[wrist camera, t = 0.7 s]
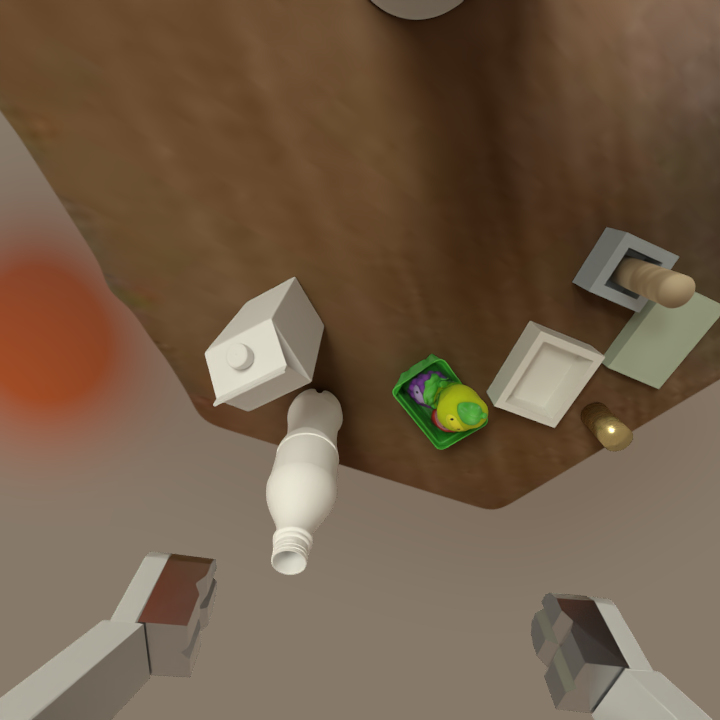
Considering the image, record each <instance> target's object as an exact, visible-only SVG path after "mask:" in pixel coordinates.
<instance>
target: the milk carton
mask: <svg viewBox="0 0 720 720" xmlns="http://www.w3.org/2000/svg"><path fill="white" fill-rule="evenodd" d="M323 329H324V324H323V323H322V321H321V319H320V318H319V316H318V314H317V313H316V311H315V309H314V308H313V306H312V304H311V302H310V301H309V299H308V297H307V296H306V294H305V292H304V291H303V289H302V287H301V286H300V284H299V282H298V281H297V279H296V277H293V278H291V279H289V280H287V281H285V282H284V283H282V284H280V285H278V286H276V287H274V288H272V289H270V290H269V291H267V292H265V293H263V294H261V295H259V296H257V297H255V298H254V299H252V300H250V301H248V302H247V303H246V304H245V305H244V306H243V307H242V308H241V310H240V311H239V312H238V313H237V314H236V316H235V317H234V318H233V319H232V320H231V322H230V323H229V324H228V325H227V326H226V328H225V329H224V330H223V331H222V333H221V334H220V335H219V336H218V337H217V339H216V340H215V341H214V342H213V343H212V345H211V346H210V347H209V348H208V350H207V351H206V352H205V356H206V360H207V364H208V368H209V372H210V375H211V379H212V383H213V387H214V390H215V394H216V398H217V399H216V401H215V402H214V404H213V405H214V406H217V405H219V404H221V403H223V402H224V403H227V404H230V405H232V406H235V407H238V408H240V409H243V410H245V411H251V410H253V409H255V408H257V407H259V406H262V405H264V404H266V403H268V402H270V401H272V400H274V399H277V398H279V397H281V396H283V395H285V394H287V393H289V392H291V391H294V390H296V389H298V388H300V387H302V386H304V385H306V384H308V383H310V382H312V377H313V373H314V369H315V364H316V360H317V356H318V351H319V347H320V342H321V338H322V334H323Z"/></svg>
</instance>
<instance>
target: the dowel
mask: <svg viewBox="0 0 720 720" xmlns="http://www.w3.org/2000/svg"><path fill="white" fill-rule="evenodd" d="M608 280H609V281H611V282H613V283H615V284H618V285H620V286H622V287H624V288H626V289H628V290H630V291H632V292H635V293H637V294H639V295H641V296H643V297H645V298H647V299H649V300H652V301H654V302H656V303H658V304H660V305H662V306H664V307H667V308H678V307H681V306H683V305H684V304H686V303H687V302H688V301H689V300H690V299H691V298H692V296H693V294H694V292H695V282H694V280H693V279H692V278H691V277H689V276H686V275H683V274H680V273H678V272H675V271H672V270H669V269H666V268H663V267H660V266H657V265H654V264H651V263H648V262H646V261H643V260H640V259H637V258H634V257H631V256H628V255H624V256H623V258H622V259H621V261H620V262H619V264H618V265H617V267H616V268H615V270H614V271H613V273H612V274H611V276H610V277H609V279H608Z"/></svg>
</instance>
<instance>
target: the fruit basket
mask: <svg viewBox="0 0 720 720" xmlns="http://www.w3.org/2000/svg"><path fill="white" fill-rule="evenodd" d="M392 393H393V396H394V397H395V398H396V399H397V401H398V402H399V403H400V404H401V405H402V407H403V408H404V409H405V410H406V411H407V413H408V414H409V415H410V416H411V418H412V419H413V420H414V421H415V422H416V424H417V425H418V426H419V427H420V429H421V430H422V431H423V432H424V433H425V435H426V436H427V437H428V438H429V440H430V441H431V442H432V443H433V444H434V446H435V447H436V448H437V449H446V448H448V447H449V446H451V445H453V444H454V443H456V442H458V441H459V440H461V439H463V438H464V437H466V436H468V435H470V434H471V433H473V432H475V431H477V430H479V429H480V428H482V427H484V426H485V425H486V424H487V423H488V418H487V417H488V407H487V405H486V403H485V402H484V401H483V400H482V399H480V397H479V396H478V394H477V393H476V392H475V391H474V390H473V389H471V388H470V387H468V386H465V385H463V384H462V383H461V382H460V380H459V379H458V377H457V376H456V375H455V373H454V372H453V371H452V369H451V368H450V366H449V365H448V364H447V362H446V361H445V360H442V359H439V358H438V357H436V356H435V355H433V354H431V355H429V356H428V357H427V359H425V360H422V361H420V362H419V363H417V364H416V365H414V366H412V367H411V368H410V369H409V370H408V371H406V372H403V373H402V374H401V376H400V378H399V380H398V383H397V384H396V385H395V387H394V389H393V391H392Z"/></svg>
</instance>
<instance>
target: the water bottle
mask: <svg viewBox="0 0 720 720" xmlns="http://www.w3.org/2000/svg"><path fill="white" fill-rule="evenodd" d="M287 420H288V433H287V436H286V437H285V438H284V439H283V440H282V441H281V443H280V444H279V446H278V449H277V455H276V459H275V463H274V466H273V470H272V473H271V476H270V477H269V479H268V482H267V487H266V499H267V504H268V508H269V510H270V513H271V516H272V518H273V520H274V522H275V525H276V528H277V531H276V532H275V533H274V535H273V548H274V549H273V554H272V558H271V563H272V565H273V567H274V568H275V569H276V570H277V571H278V572H280V573H282V574H288V575H292V574H297V573H300V572H302V571H303V570H304V569H305V567H306V564H307V560H308V554H309V552H310V550H311V547H312V545H313V537H312V534H313V532H314V531H315V530H316V529H317V528H318V527H319V526H320V524H322V522H323V521H324V520H325V519H326V517H327V516H328V515H329V514H330V512H331V510H332V509H333V506H334V504H335V502H336V496H337V473H338V465H339V455H338V451H337V433H338V430H339V429H340V427H341V425H342V422H343V414H342V409H341V406H340V403H339V401H338V400H337V398H336V397H335V396H334V395H333V394H332V393H330V392H329V391H323V392H322V393H318V392H317V391H316V389H308V390H305V391H303V392H302V393H300V394H299V395H298V396H297V397H296V398H295V399H294V401H293V402H292V404H291V406H290V408H289V411H288V416H287Z"/></svg>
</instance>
